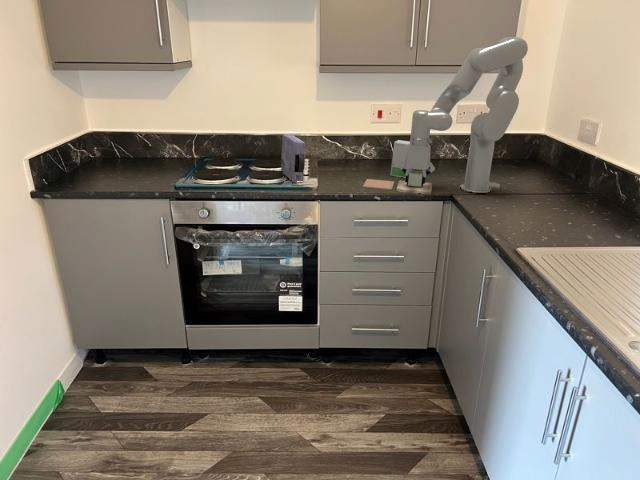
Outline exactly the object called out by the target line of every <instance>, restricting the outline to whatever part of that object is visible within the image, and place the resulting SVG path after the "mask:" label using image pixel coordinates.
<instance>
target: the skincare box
mask: <svg viewBox="0 0 640 480" xmlns="http://www.w3.org/2000/svg"><path fill="white" fill-rule="evenodd" d="M408 144H410V141H408V140H401V139H398V140H396V141H394V143H393V151H392V157H391V158H392V159H391V169H390V176H391V177H395V178H401V177H403V178H402V179H406V175H405V174H404V172H403V171H402V170H401V169H400V168H399V167H398V166H399V165H400V164H401V163H402V162H403V161H404V160H405V156H406V150H407V146H408ZM403 167H404V168H405V166H404V165H403ZM405 169H406V170H407V168H405ZM410 171H413V169H410Z"/></svg>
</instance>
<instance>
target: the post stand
mask: <svg viewBox="0 0 640 480" xmlns="http://www.w3.org/2000/svg"><path fill="white" fill-rule="evenodd" d="M396 186H397V187H396V190H395V191H396V192H400V193H408V194H409V193H410V194H418V193H421V195H431V196H432V188H433V183H432V182H425V184H423V186H421V187H420V186H409V185H407V183H406V182H405V180H399V181H398V183H397V185H396Z"/></svg>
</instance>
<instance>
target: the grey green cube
mask: <svg viewBox="0 0 640 480" xmlns="http://www.w3.org/2000/svg"><path fill="white" fill-rule="evenodd" d="M422 176H423V172H422V170H412V171H410V172H409V180H408V185H409V186H420V187H421V183H422Z"/></svg>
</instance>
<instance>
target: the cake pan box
mask: <svg viewBox="0 0 640 480" xmlns="http://www.w3.org/2000/svg"><path fill="white" fill-rule="evenodd" d="M305 161H306V142H305V141H303V140H301V139H300V138H298V137H297V136H295V135H294V134H292V133H283V134H282V140H281V161H280V162H281V164H280V165H281V167H280V171H281V170H282V171H283V173H284V174H285V175H286V176H287V177H288V178H289V179H288V178H287V177H286V176H285V175H284V174H283V173H282V174H283V175H284V176H285V177H286V178H287V179H288V180H290V181H291V180H292V181H293V182H297V181H303V182H304V172H305ZM292 181H291V182H292ZM293 182H292V183H293Z"/></svg>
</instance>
